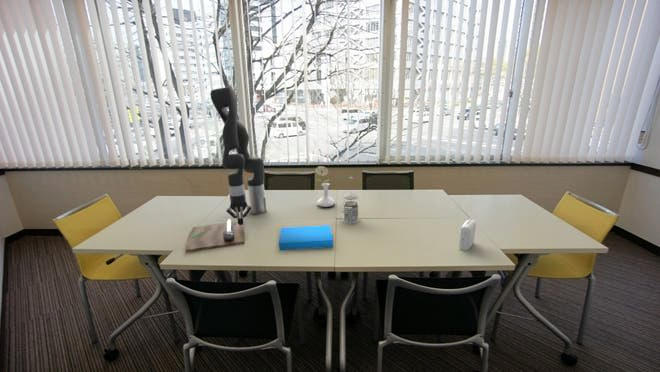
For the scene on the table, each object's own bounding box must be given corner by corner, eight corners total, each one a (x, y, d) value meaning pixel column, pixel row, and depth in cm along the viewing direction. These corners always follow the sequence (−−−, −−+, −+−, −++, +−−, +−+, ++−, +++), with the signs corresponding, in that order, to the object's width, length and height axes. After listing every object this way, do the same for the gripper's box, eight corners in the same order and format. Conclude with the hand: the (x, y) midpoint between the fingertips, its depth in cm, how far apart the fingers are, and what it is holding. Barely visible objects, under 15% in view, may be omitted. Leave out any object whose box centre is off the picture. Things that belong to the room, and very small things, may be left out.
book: (280, 227, 156) (329, 224, 158) (281, 235, 157) (330, 231, 159) (278, 244, 140) (333, 239, 142) (279, 252, 141) (333, 248, 143)
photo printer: (467, 251, 137) (470, 226, 133) (457, 248, 139) (460, 223, 136) (474, 243, 144) (478, 218, 140) (465, 240, 147) (468, 216, 143)
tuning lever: (234, 240, 147) (233, 234, 146) (223, 242, 146) (222, 236, 145) (234, 223, 166) (234, 218, 165) (225, 224, 164) (224, 219, 163)
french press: (363, 219, 172) (364, 176, 164) (350, 226, 164) (350, 181, 156) (349, 214, 179) (349, 173, 171) (336, 221, 171) (335, 177, 163)
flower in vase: (338, 203, 195) (338, 165, 188) (328, 209, 186) (328, 169, 179) (321, 200, 202) (320, 163, 194) (311, 205, 193) (309, 167, 185)
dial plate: (243, 223, 170) (243, 220, 170) (244, 244, 147) (244, 240, 147) (193, 229, 164) (192, 226, 163) (186, 252, 141) (185, 249, 140)
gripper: (250, 189, 161) (253, 220, 166) (224, 192, 157) (227, 223, 163) (251, 194, 154) (254, 225, 159) (223, 196, 150) (227, 229, 156)
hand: (240, 224), depth 161 cm, fingers closed
